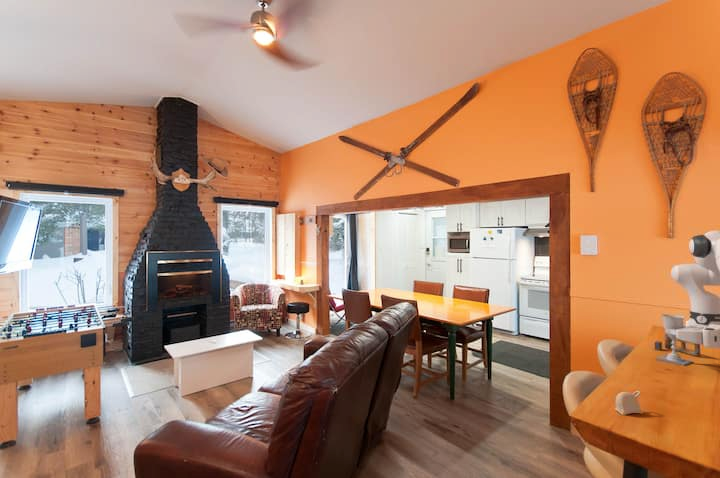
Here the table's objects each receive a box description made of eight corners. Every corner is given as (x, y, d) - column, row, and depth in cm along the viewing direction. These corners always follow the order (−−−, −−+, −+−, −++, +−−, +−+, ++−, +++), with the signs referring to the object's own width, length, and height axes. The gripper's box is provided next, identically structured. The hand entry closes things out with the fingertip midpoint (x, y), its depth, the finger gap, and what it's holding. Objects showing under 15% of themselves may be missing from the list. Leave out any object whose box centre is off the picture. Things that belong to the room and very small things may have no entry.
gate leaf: (663, 347, 160) (663, 334, 160) (667, 346, 160) (667, 334, 160) (696, 356, 146) (696, 342, 147) (701, 355, 147) (700, 341, 147)
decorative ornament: (609, 408, 100) (609, 390, 100) (635, 407, 100) (635, 388, 101) (622, 415, 95) (621, 396, 96) (648, 413, 96) (648, 394, 97)
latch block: (657, 348, 159) (657, 341, 159) (661, 349, 158) (661, 341, 158) (654, 349, 158) (654, 341, 158) (659, 350, 156) (659, 342, 156)
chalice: (658, 357, 144) (657, 315, 144) (668, 355, 146) (667, 313, 147) (680, 363, 137) (679, 318, 138) (689, 361, 140) (688, 317, 140)
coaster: (664, 356, 148) (664, 354, 148) (692, 362, 140) (692, 360, 140) (655, 359, 143) (655, 358, 143) (684, 365, 136) (684, 364, 136)
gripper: (725, 324, 136) (680, 318, 148) (707, 331, 126) (659, 324, 138) (726, 340, 136) (680, 333, 148) (707, 348, 126) (660, 339, 138)
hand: (670, 328), depth 143 cm, fingers open, 8 cm apart
